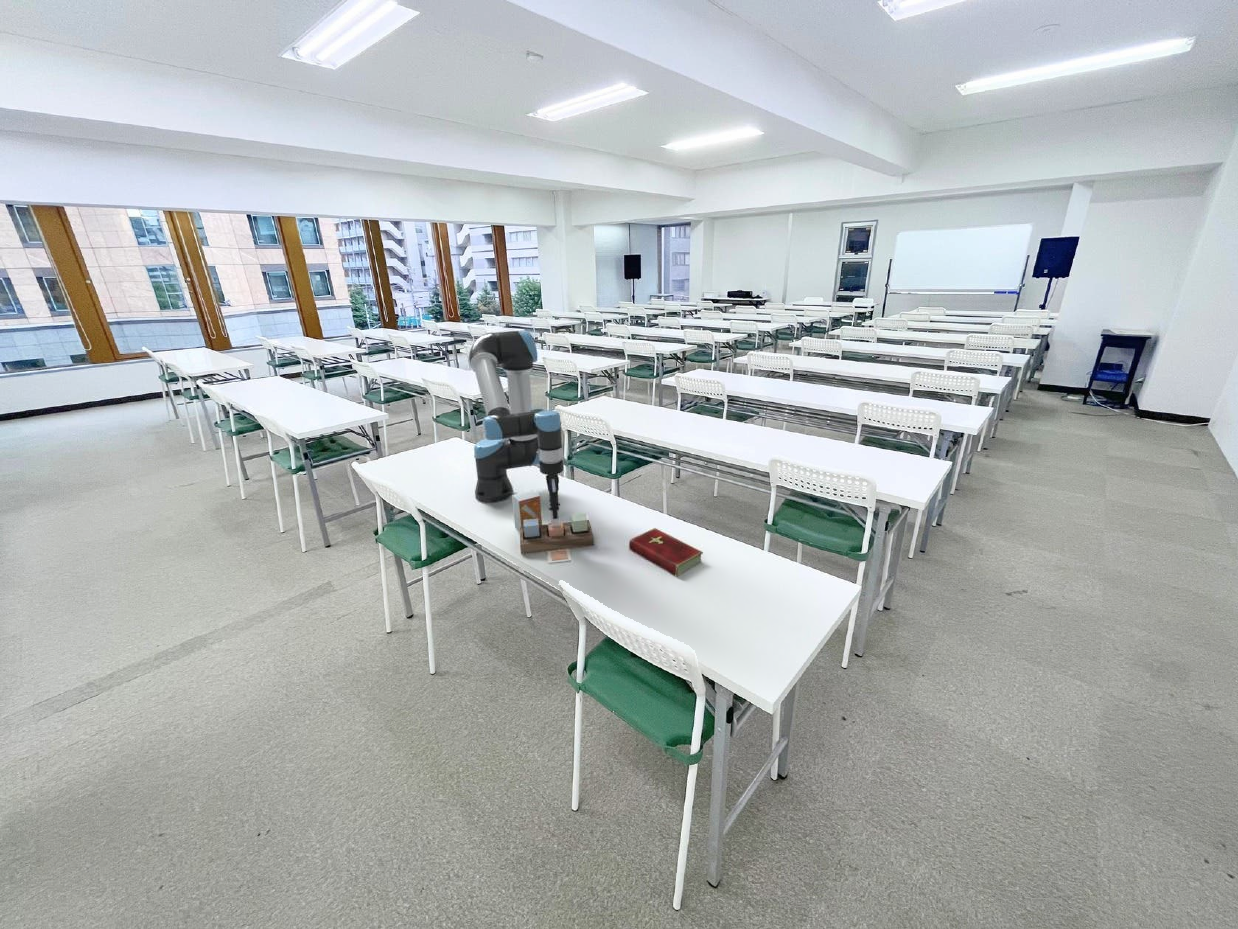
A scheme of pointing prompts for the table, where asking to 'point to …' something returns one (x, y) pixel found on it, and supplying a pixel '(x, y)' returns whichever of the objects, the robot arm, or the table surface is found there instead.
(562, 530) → the cap terracotta
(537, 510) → the small box
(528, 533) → the light blue cube
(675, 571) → the hardcover book
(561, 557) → the tile
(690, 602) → the table surface
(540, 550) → the wooden tray
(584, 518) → the cap sage
